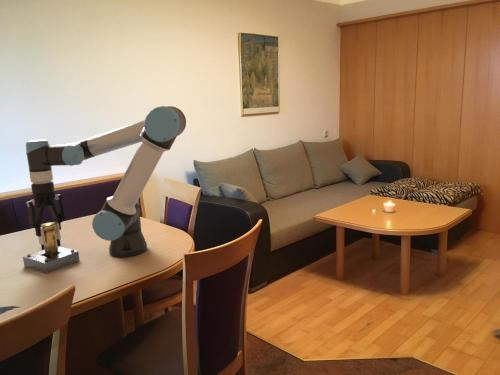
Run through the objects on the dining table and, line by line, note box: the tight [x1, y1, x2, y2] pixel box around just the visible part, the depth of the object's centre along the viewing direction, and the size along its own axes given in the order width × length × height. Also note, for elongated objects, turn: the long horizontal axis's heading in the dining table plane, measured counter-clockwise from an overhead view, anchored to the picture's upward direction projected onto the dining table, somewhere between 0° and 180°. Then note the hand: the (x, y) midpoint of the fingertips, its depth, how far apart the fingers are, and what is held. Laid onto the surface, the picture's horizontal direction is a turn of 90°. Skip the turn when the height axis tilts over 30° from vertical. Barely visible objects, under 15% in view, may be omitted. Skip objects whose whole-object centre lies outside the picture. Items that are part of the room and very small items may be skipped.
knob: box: [41, 221, 58, 257], centre depth 162 cm, size 6×6×12 cm
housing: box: [22, 246, 80, 274], centre depth 163 cm, size 14×14×5 cm
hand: (50, 241), depth 162 cm, fingers closed on knob, 6 cm apart
